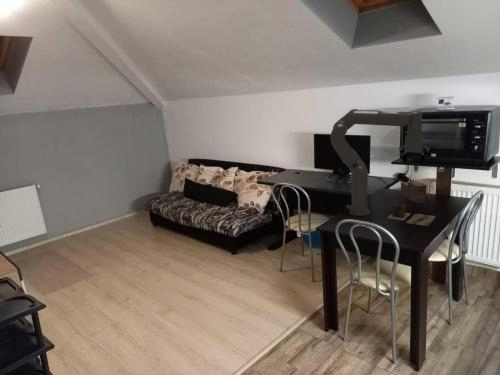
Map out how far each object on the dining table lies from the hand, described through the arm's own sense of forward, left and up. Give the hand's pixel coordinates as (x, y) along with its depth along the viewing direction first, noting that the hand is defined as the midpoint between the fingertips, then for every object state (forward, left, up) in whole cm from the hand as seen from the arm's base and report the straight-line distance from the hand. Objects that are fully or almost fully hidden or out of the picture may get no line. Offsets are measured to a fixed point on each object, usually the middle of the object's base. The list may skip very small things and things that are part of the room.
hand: (413, 161), depth 229 cm
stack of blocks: (-8, +29, -33) cm, 45 cm away
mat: (-5, -9, -32) cm, 34 cm away
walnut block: (-5, -9, -32) cm, 34 cm away
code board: (+8, -10, -32) cm, 35 cm away
